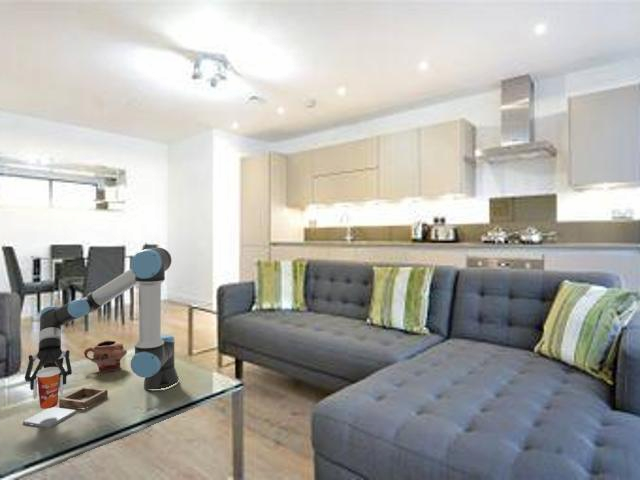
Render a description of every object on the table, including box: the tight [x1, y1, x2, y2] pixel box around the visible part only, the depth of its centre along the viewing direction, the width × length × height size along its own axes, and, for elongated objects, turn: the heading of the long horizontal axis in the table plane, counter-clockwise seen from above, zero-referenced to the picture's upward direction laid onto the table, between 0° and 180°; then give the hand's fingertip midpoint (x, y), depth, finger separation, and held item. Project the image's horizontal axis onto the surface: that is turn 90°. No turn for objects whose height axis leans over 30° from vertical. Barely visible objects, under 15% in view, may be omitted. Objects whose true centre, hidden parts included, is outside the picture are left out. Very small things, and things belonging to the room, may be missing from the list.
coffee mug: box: [42, 355, 65, 378], centre depth 192 cm, size 12×9×10 cm
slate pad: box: [22, 406, 77, 429], centre depth 152 cm, size 12×12×1 cm
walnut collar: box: [58, 386, 108, 410], centre depth 167 cm, size 12×12×3 cm
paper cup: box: [36, 367, 61, 410], centre depth 152 cm, size 8×8×14 cm
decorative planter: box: [83, 340, 128, 373], centre depth 202 cm, size 20×12×14 cm, turn 106°
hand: (48, 394), depth 149 cm, fingers closed on paper cup, 8 cm apart
